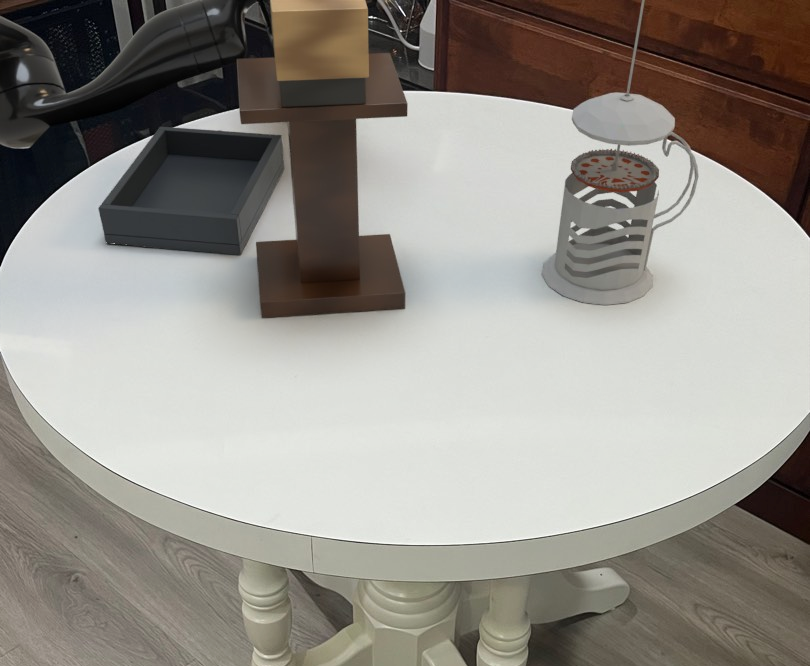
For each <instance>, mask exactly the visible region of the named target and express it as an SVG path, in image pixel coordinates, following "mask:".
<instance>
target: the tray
mask: <svg viewBox="0 0 810 666" xmlns="http://www.w3.org/2000/svg"><path fill="white" fill-rule="evenodd" d="M284 159H285V158H284V145H283V135H282V134H271V133H257V132H256V133H255V132H243V131H229V130H220V131H218V130H213V129H201V128H200V129H199V128H185V127H174V126H172V127H171V126H159V127H158V128H157V130H156V131H155V133H154V134H153V136H151V138H150V139H149V140H148V142H146V145H145V146H144V147H143V148H142V150H141V151H140V152H139V153H138V155H137V156H136V157H135V158H134V160H133V161H132V163H131V164H130V165H129V167H128V169H127V170H126V171H125V172H124V174H123V175H122V176H121V178H120V179H119V180H118V182H116V184H115V186H113V188H112V189H111V191H110V192H109V193H108V195H107V196H106V197H105V199H104V200H103V201H102V203H101V204H100V205H99V206H98V209H97V210H98V213H99V217H100V222H101V227H102V232H103V235H104V240H105V243H106V242H107V243H115V244H124V245H123V246H127V245H133V246H132V247H139V246H145V247H144V248H151V247H155V248H154V249H163V248H164V250H177V251H189V252H199V253H200V252H201V253H210V254H211V253H213V254H224V255H237V256H240V255H242V253H243V251H244V250H245V247H246V245H247V243H248V241H249V239H250V237H251V235H252V233H253V231H254V229H255V227H256V225H257V223H258V221H259V219H260V218H261V215H262V214H263V212H264V209H265V207H266V206H267V204H268V202H269V200H270V199H271V196H272V195H273V192H274V191H275V188H276V186H277V184H278V182H279V180H280V178H281V177H282V174H283V173H284V170H285V160H284ZM125 244H127V245H125ZM135 245H136V246H135Z"/></svg>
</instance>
